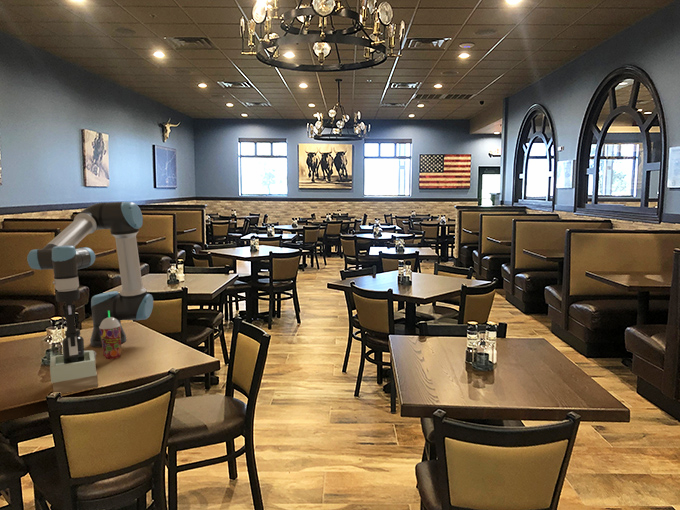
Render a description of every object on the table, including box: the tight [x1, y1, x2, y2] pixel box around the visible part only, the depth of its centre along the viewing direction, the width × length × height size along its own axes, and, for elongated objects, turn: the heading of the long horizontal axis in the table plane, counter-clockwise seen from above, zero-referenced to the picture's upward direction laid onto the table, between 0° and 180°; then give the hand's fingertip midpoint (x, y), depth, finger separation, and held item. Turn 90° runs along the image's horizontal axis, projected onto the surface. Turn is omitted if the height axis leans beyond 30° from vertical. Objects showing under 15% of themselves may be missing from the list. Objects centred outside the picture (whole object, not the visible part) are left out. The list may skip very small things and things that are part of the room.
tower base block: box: [52, 371, 99, 394], centre depth 188 cm, size 14×14×5 cm
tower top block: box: [49, 349, 97, 384], centre depth 187 cm, size 14×14×6 cm
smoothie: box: [99, 311, 122, 360], centre depth 217 cm, size 8×8×20 cm
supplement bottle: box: [61, 328, 85, 364], centre depth 187 cm, size 7×7×12 cm
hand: (73, 351), depth 187 cm, fingers open, 8 cm apart
